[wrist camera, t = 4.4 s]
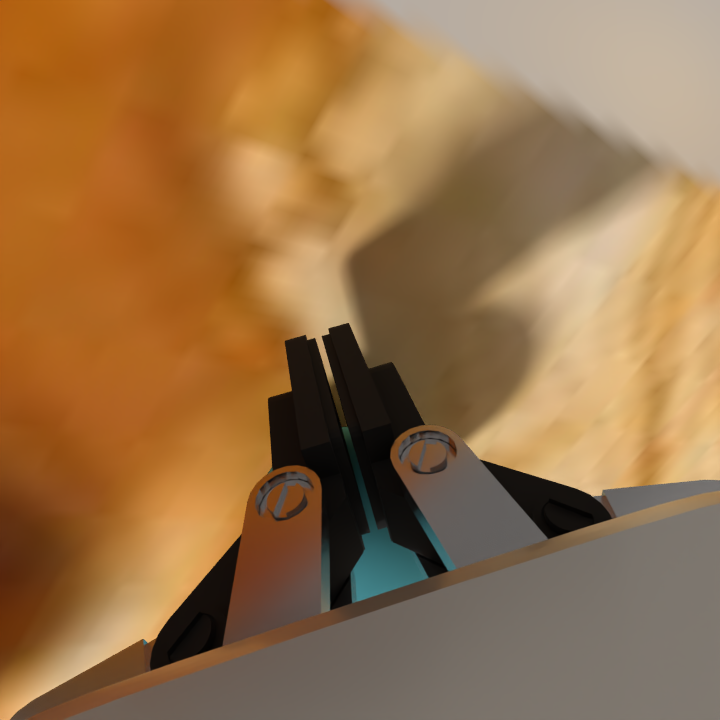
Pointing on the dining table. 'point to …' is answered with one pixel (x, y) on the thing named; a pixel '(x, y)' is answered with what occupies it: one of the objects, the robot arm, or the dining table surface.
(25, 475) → the dining table surface
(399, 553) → the teal sphere
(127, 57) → the dining table surface
